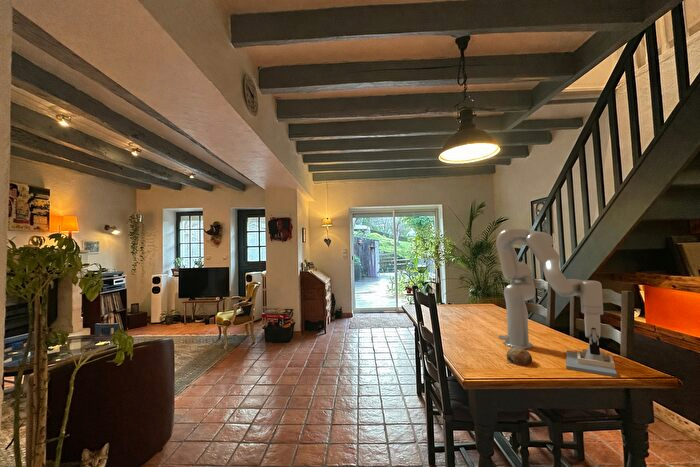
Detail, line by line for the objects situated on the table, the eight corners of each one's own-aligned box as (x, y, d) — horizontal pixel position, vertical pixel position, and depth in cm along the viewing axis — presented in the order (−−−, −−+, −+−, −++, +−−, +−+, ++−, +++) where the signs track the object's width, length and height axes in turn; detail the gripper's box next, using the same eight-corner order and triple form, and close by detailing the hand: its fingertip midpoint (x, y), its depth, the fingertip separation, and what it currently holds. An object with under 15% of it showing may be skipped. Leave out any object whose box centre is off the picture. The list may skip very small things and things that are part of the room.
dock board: (566, 368, 130) (565, 359, 130) (567, 352, 150) (566, 344, 150) (617, 377, 121) (616, 366, 121) (610, 358, 141) (610, 350, 141)
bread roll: (504, 367, 142) (498, 352, 141) (519, 354, 146) (513, 339, 145) (524, 375, 133) (518, 359, 132) (539, 361, 137) (533, 345, 136)
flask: (609, 365, 130) (607, 340, 131) (589, 364, 132) (587, 339, 132) (599, 359, 137) (598, 335, 138) (580, 358, 139) (579, 335, 139)
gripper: (580, 306, 145) (582, 345, 144) (581, 312, 130) (584, 355, 129) (601, 307, 140) (604, 347, 139) (605, 314, 126) (607, 359, 125)
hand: (594, 351), depth 134 cm, fingers open, 8 cm apart
